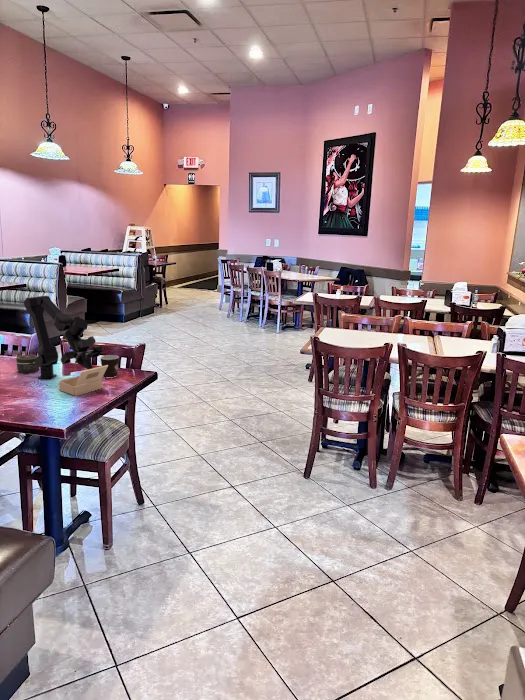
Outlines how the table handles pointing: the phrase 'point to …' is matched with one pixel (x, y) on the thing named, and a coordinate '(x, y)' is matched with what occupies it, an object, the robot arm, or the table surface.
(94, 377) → the flap
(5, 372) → the table surface
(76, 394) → the kraft box
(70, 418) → the table surface
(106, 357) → the coffee mug
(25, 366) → the jar
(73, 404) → the table surface
